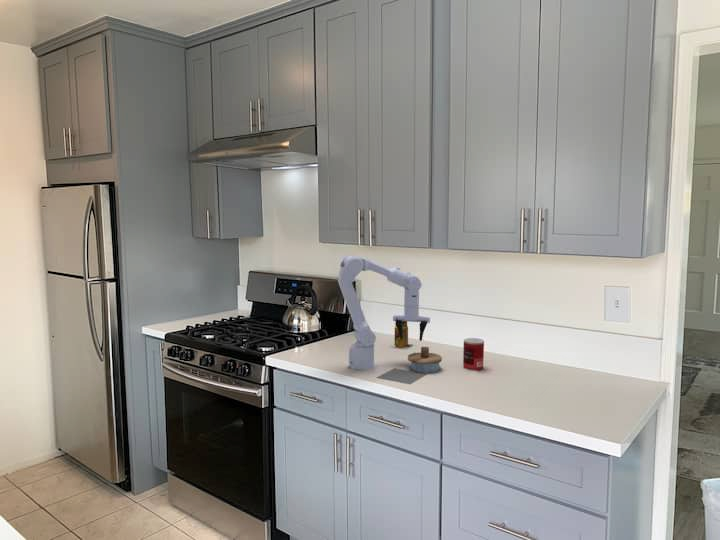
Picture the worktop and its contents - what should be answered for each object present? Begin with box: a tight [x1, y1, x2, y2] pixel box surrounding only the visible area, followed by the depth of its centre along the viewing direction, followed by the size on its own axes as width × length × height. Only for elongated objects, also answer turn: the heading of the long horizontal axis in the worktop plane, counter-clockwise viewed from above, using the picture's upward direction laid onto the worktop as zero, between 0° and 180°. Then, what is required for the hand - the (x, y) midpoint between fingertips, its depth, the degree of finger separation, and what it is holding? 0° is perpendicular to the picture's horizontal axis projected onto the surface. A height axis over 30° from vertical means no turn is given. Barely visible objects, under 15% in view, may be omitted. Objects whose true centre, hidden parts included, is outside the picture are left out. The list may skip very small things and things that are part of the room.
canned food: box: [462, 337, 485, 371], centre depth 213 cm, size 8×8×11 cm
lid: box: [407, 346, 443, 364], centre depth 210 cm, size 13×13×5 cm
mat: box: [376, 367, 428, 385], centre depth 202 cm, size 14×14×1 cm
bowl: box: [411, 362, 440, 373], centre depth 211 cm, size 10×10×4 cm
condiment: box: [394, 321, 414, 350], centre depth 246 cm, size 7×8×12 cm
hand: (411, 339), depth 218 cm, fingers open, 7 cm apart
